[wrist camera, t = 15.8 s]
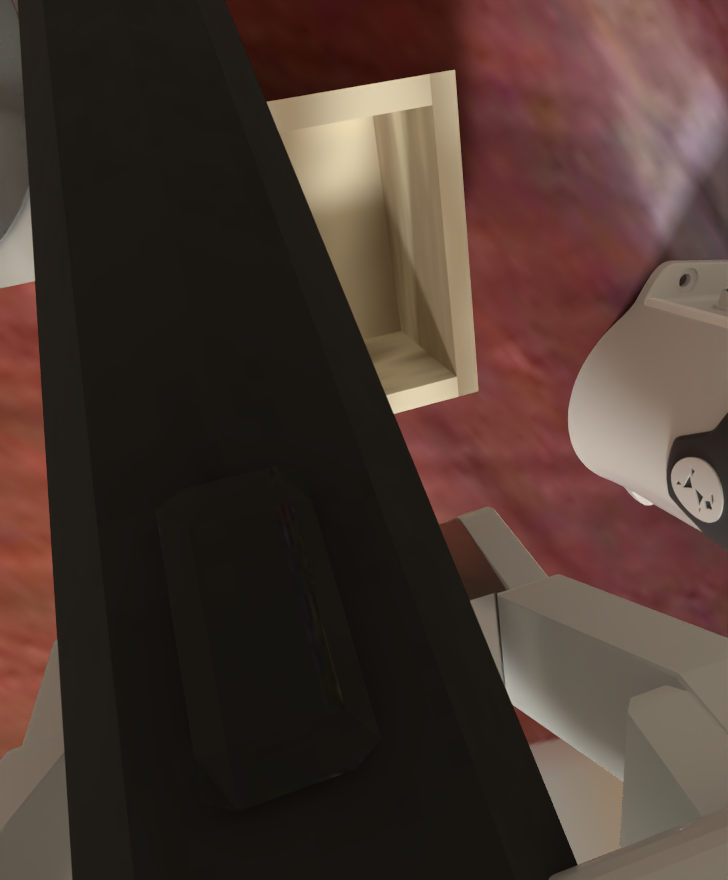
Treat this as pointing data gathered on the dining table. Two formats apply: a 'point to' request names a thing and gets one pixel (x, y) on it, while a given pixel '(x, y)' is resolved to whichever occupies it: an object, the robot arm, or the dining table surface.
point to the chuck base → (18, 250)
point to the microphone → (238, 501)
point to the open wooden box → (393, 224)
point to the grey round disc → (11, 121)
